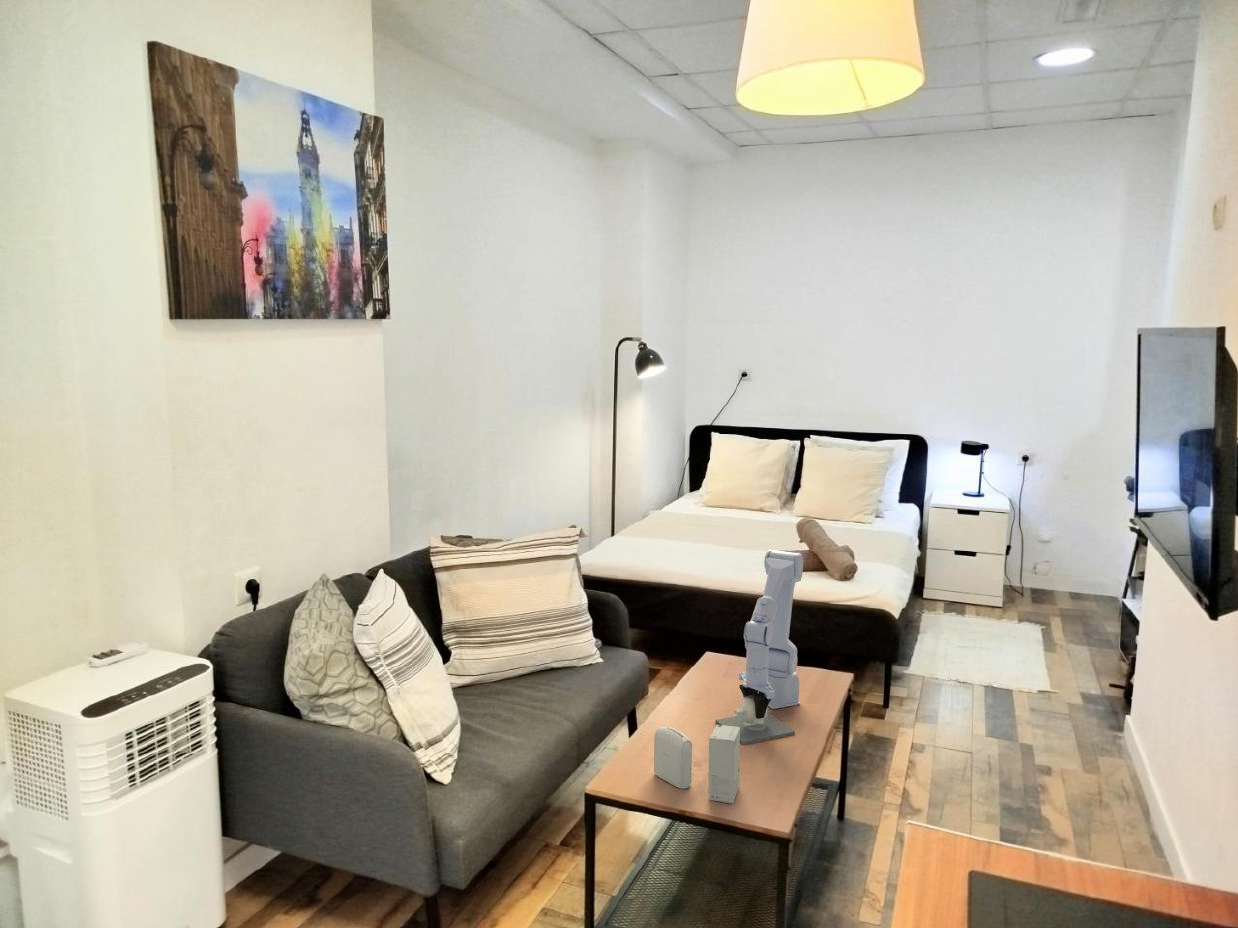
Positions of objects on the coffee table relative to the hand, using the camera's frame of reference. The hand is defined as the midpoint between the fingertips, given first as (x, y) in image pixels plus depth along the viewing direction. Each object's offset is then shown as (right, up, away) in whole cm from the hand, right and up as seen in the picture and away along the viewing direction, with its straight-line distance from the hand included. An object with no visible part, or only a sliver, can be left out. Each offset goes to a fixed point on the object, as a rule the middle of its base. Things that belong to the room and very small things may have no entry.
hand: (755, 714), depth 230 cm
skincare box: (-12, -9, -33) cm, 36 cm away
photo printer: (-24, -8, -27) cm, 37 cm away
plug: (-1, -1, 0) cm, 2 cm away
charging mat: (0, -4, +1) cm, 4 cm away
